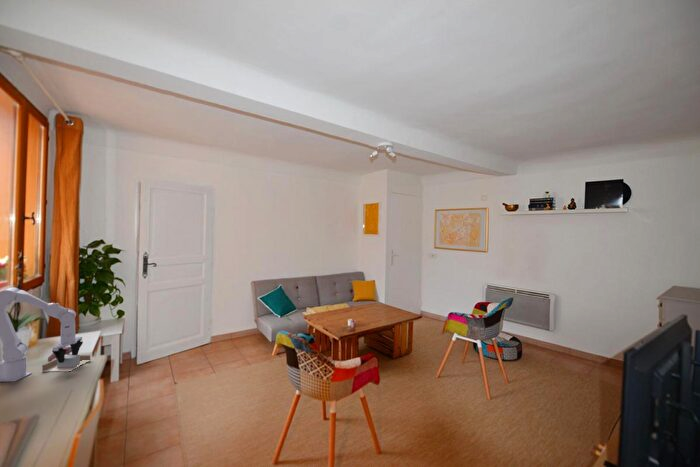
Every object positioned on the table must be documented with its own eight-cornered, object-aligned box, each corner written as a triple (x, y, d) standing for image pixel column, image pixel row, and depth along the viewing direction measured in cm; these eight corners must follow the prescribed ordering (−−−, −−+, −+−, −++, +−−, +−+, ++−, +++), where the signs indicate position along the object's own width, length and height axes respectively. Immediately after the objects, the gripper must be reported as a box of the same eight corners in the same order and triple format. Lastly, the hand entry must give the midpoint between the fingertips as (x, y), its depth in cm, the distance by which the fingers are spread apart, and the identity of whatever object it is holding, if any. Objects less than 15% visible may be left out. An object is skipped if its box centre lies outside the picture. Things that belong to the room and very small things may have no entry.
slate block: (72, 367, 155) (72, 358, 155) (57, 367, 155) (57, 358, 154) (79, 364, 159) (79, 354, 159) (64, 364, 159) (64, 354, 158)
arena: (42, 371, 152) (42, 364, 151) (64, 361, 164) (64, 354, 163) (70, 371, 152) (70, 365, 152) (90, 361, 164) (90, 354, 164)
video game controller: (51, 364, 163) (56, 353, 162) (45, 360, 163) (50, 349, 163) (71, 356, 172) (76, 346, 172) (66, 352, 173) (70, 342, 172)
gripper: (62, 338, 149) (62, 365, 149) (87, 328, 164) (87, 353, 164) (48, 338, 149) (48, 365, 149) (74, 328, 163) (74, 353, 164)
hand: (68, 359), depth 157 cm, fingers open, 7 cm apart
